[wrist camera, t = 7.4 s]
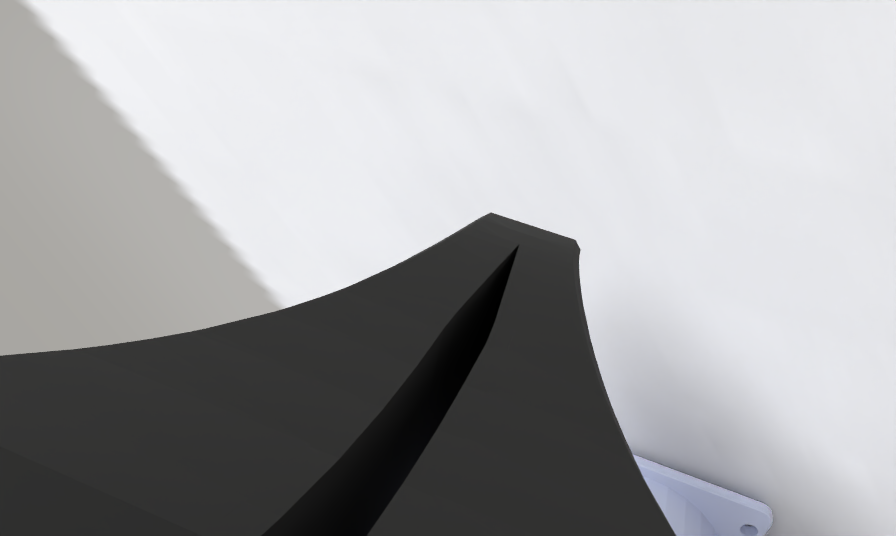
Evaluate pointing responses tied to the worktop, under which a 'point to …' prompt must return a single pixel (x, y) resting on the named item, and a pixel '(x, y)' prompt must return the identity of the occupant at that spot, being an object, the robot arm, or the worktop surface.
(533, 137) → the worktop surface
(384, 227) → the worktop surface
